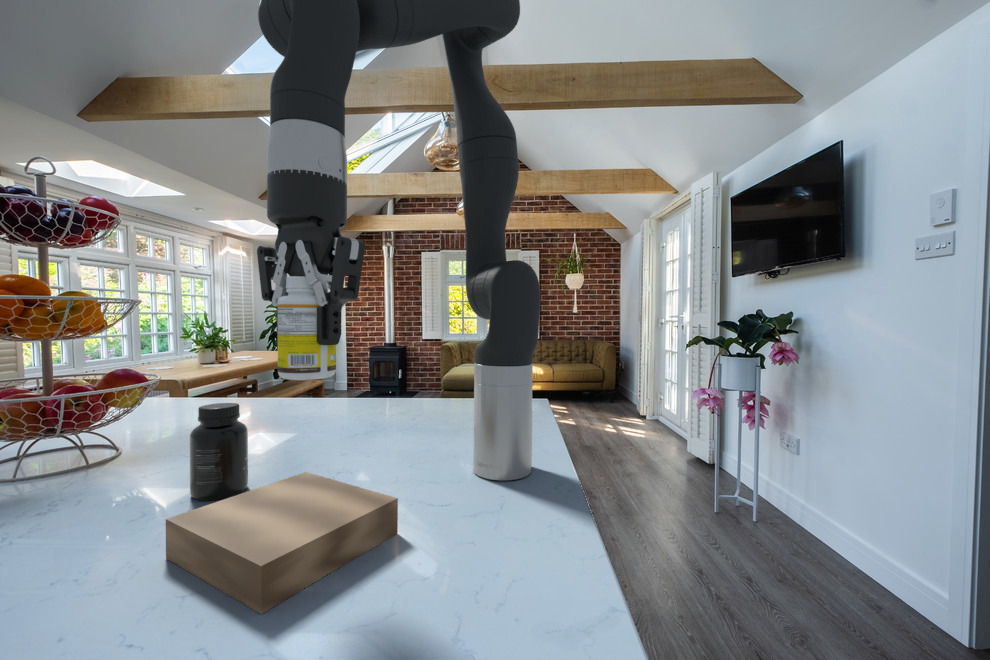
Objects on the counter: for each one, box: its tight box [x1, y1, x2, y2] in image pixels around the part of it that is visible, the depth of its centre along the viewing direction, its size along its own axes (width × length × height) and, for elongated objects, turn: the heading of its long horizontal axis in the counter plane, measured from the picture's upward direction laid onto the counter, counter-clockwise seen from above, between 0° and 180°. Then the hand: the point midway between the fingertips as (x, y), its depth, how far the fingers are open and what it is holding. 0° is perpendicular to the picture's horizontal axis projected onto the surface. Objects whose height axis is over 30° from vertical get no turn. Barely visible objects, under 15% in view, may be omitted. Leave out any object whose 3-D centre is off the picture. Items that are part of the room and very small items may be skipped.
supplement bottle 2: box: [277, 275, 337, 381], centre depth 45 cm, size 6×6×10 cm
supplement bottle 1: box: [189, 402, 249, 501], centre depth 61 cm, size 7×7×12 cm
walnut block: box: [165, 471, 399, 615], centre depth 47 cm, size 16×16×4 cm
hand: (307, 343), depth 46 cm, fingers closed on supplement bottle 2, 5 cm apart
